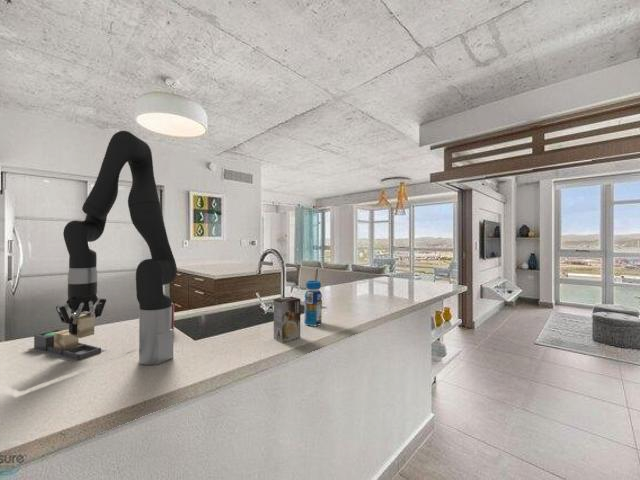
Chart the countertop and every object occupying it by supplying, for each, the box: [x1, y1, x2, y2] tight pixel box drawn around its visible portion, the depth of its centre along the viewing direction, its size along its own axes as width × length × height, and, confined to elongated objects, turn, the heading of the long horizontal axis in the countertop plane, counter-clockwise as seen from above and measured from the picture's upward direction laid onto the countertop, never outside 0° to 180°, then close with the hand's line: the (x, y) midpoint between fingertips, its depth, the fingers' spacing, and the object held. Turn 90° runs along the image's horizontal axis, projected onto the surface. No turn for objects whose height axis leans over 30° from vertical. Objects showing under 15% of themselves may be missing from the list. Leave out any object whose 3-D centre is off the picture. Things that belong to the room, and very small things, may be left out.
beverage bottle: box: [303, 280, 323, 327], centre depth 136 cm, size 8×8×20 cm
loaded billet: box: [54, 328, 79, 350], centre depth 99 cm, size 6×4×6 cm, turn 68°
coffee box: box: [273, 296, 301, 343], centre depth 116 cm, size 9×6×16 cm
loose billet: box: [69, 313, 96, 339], centre depth 96 cm, size 6×4×6 cm, turn 68°
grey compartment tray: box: [27, 328, 107, 363], centre depth 99 cm, size 25×10×6 cm, turn 68°
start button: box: [44, 332, 55, 337], centre depth 102 cm, size 4×4×3 cm
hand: (82, 332), depth 96 cm, fingers closed on loose billet, 4 cm apart
